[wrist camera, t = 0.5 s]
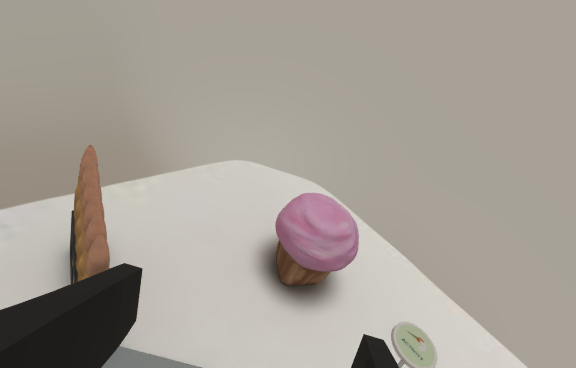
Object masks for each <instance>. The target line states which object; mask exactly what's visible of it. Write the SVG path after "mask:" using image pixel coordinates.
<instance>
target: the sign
mask: <svg viewBox="0 0 576 368" xmlns="http://www.w3.org/2000/svg"><path fill="white" fill-rule="evenodd" d="M391 339H392V344H393V347H394V349H395V351H396V353H397V354H398V356H399V357H400V359H401V361H400V362H399V364H398V366H399V368H401V367H402V365H403V364H404V363H405V364H406V365H407V366H409V367H410V368H434V367H435V366H436V363H437V353H436V349H435V347H434V345H433V343H432V341H431V340H430V338H429V337H428V336H427V334H426V333H425V332H424V331H423V330H422V329H420V328H419V327H417V326H416V325H414V324H412V323H409V322H401V323H399V324H397V325H396V326H395V327H394V328H393V330H392V334H391Z"/></svg>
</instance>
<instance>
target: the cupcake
mask: <svg viewBox="0 0 576 368" xmlns="http://www.w3.org/2000/svg"><path fill="white" fill-rule="evenodd" d="M275 227H276V233H277V236H278V238H279V242H278V246H277V252H276V259H277V265H278V272H279V275H280V279H281V281H282V282H284V283H285V284H286V285H303V284H317V283H320V282H321V281H322V280H323V279H324V278H325V277H326V276H327V275H328V274H329V273H330V272H332V271H337V270H341V269H343V268H344V267H346V266H347V265H348V264H349V263H351V262H352V261H353V260H354V258H355V256H356V254H357V251H358V243H359V241H358V239H359V235H358V228H357V224H356V222H355V221H354V219H353V218H352V216H351V214H350V213H349V212H348V211H347V210H346V209H345V208H344V207H343V206H341V205H340V204H338V203H337V202H336V201H335V200H334V199H332V198H330V197H328V196H325V195H322V194H318V193H305V194H302V195H300V196H298V197H296V198H294V199H293V200H291V201H290V202H289V203H288V204H287V205H286V206H285V208H283V210H281V212H280V213H279V215H278V217H277V220H276V226H275Z"/></svg>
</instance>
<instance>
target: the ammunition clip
mask: <svg viewBox="0 0 576 368" xmlns="http://www.w3.org/2000/svg"><path fill="white" fill-rule="evenodd" d="M109 261H110V257H109V248H108V244H107V232H106V225H105V221H104V209H103V204H102V194H101V187H100V180H99V172H98V164H97V157H96V153H95V150H94V148H93V146H91V145H89V146H88V147H87V149H86V150H85V152H84V154H83V157H82V160H81V164H80V172H79V177H78V184H77V187H76V190H75V200H74V210H73V211H72V218H71V239H70V267H71V284H73V283H76V282H78V281H81V280H83V279H86V278H88V277H91V276H93V275H96V274H98V273H100V272H103V271H105V270H108V269H109Z"/></svg>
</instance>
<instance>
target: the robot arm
mask: <svg viewBox="0 0 576 368" xmlns="http://www.w3.org/2000/svg"><path fill="white" fill-rule="evenodd" d="M141 277H142V268H139V267H136V266H132V265H129V264H125V263H124V264H121V265H118V266H116V267H113V268H110V269H108V270H105V271H103V272H100V273H98V274H96V275H93V276H91V277H88V278H86V279H83V280H81V281H78V282H76V283H73V284H71V285H68V286H66V287H63V288H61V289H58V290H56V291H53V292H50V293H47V294H45V295H42V296H39V297H36V298H33V299H31V300H28V301H25V302H22V303H20V304H17V305H14V306H11V307H8V308H5V309H2V310H0V368H101V367H102V366H103V365H104V364H105V363H106V362H107V360H108V359H109V358H110V357H111V356H112V354H113V353H114V352H115V351H116V350H117V348H118V347H119V345H120V344H121V342H122V341H123V340H124V338H125V337H126V335H127V334H128V332H129V331H130V329H131V328H132V326H133V325H134V323H135V322H136V317H137V309H138V301H139V293H140V285H141ZM351 368H399V366H398V364H397V363H396V361H395V359H394V357H393V356H392V354H391V352H390V350H389V349H388V347H387V345H386V343H385V342H384V340H382V339H379V338H375V337H372V336H369V335H365V334H364V335H363V338H362V340H361V343H360V345H359V348H358V351H357V353H356V356H355V359H354V361H353V364H352V366H351Z"/></svg>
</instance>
